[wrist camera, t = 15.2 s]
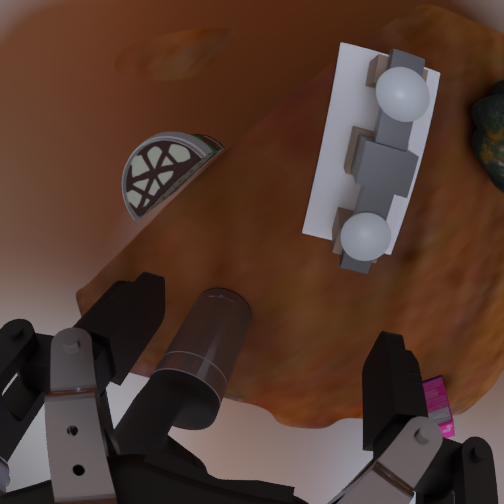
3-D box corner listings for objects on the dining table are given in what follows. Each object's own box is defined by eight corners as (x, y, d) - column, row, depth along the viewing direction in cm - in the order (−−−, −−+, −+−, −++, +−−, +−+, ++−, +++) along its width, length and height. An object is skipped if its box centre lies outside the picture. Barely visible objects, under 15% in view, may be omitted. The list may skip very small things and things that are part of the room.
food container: (202, 104, 37) (166, 108, 28) (233, 140, 38) (206, 154, 29) (143, 164, 42) (100, 184, 33) (170, 197, 44) (133, 224, 35)
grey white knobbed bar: (374, 53, 26) (384, 43, 20) (419, 67, 25) (438, 62, 20) (330, 244, 36) (330, 270, 31) (371, 253, 36) (377, 281, 30)
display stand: (388, 249, 40) (399, 281, 33) (302, 228, 41) (297, 257, 34) (436, 73, 28) (461, 69, 21) (340, 44, 30) (344, 30, 23)
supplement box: (444, 390, 50) (454, 437, 40) (417, 399, 52) (424, 447, 42) (442, 373, 48) (454, 423, 38) (413, 383, 50) (420, 433, 40)
